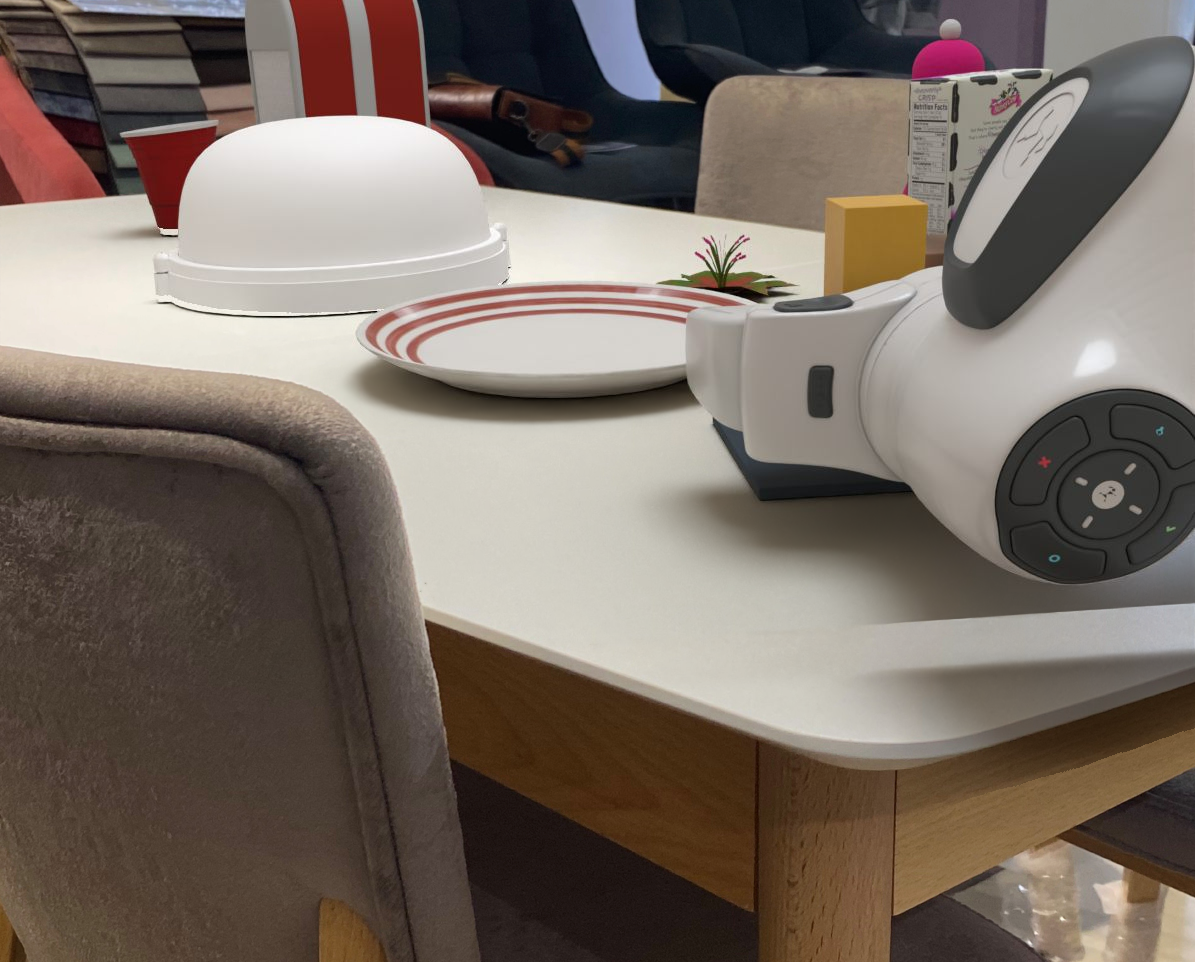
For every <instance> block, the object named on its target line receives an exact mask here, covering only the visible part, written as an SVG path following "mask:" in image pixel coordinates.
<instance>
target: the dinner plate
mask: <svg viewBox="0 0 1195 962" xmlns="http://www.w3.org/2000/svg"><path fill="white" fill-rule="evenodd" d="M725 293H726V292H724V293H720V292H718V291H717V292H715V291H710V290H704V289H697V288H690V287H681V286H672V285H662V284H656V283H651V282H650V283H647V282H635V281H613V280H612V281H609V280H552V281H550V280H549V281H531V282H518V283H515V282H514V283H503V284H501V285H494V286H485V287H478V288H471V289H464V290H458V291H452V292H447V293H441V294H436V295H431V296H427V297H422V298H419V299H415V300H411V301H407V302H404V303H401V304H398V305H395V306H392V307H389V308H386V309H384V310H381V311H377V312H374V313H373V314H371V315H369V316H368V317H366V318H365V319H364V320H363V321H362V322H361V323H359V325H358V326H357V328H356V330H355V336H356V340H357V341H358V343H359V344H360V345H361V346H362V347H363V348H364V349H366V350H367V351H369V352H370V353H371V354H373V355H375V356H377V357H378V358H380V359H382V360H384V361H386V362H387V363H390V364H392V365H394V366H396V367H399V368H401V369H403V370H405V371H409V372H412V373H414V374H418V375H420V376H423V377H426V378H431V379H434V380H438V381H440V382H441V383H444V384H447V385H449V386H452V387H455V388H458V389H460V390H466V391H471V392H476V393H481V394H487V395H496V396H497V395H498V396H504V397H514V398H540V399H542V398H543V399H567V398H568V399H569V398H590V397H603V396H613V395H623V394H631V393H636V392H642V391H648V390H653V389H657V388H662V387H665V386H670V385H672V384H676V383H678V382H681V381H684V380H687V372H686V351H685V339H686V319H687V315H688V313H689V312H690V311H692V310H694V309H697V308H701V307H722V306H743V305H761V304H760V303H759V302H758V303H757V302H755V301H752V300H750V299H747V298H744V297H741V296H736V295H733V294H730V293H728V294H725Z"/></svg>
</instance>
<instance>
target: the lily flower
mask: <svg viewBox="0 0 1195 962" xmlns="http://www.w3.org/2000/svg"><path fill="white" fill-rule="evenodd" d="M709 237H710V239H711V240H709V239H707V238H706V237H705V236H702V237H701V239H702V240H703V242H704V243H706V244H708V245H709V248H710V251H709V250H708V248H705V252H706V253H707V255H708V256H709V257H710V259H711V261H712V265H713V266H712V265H711V264H710V262H709V260H707V259H706V257H705V256H704V255H703V254H701V253H700V252H698V251H694V255H695V256H696V257H698V258H699V259H700V260H702V261H703V262H704V263H705V265H706V267H707V268H708V269H709V270H703V271H700V272H696V273H692V274H690V275H688V274H683V273H681V274H680V279H668V280H662V281H657V282H656V283H655V284H662V285H672V286H681V287H690V288H697V289H704V290H710V291H715V292H720V293H725V294H734V293H739V292H743V291H744V292H745V291H754V292H756V293H758V294H763V295H766V296H768V297H769V296H770V295H769V293H768V289H775V288H786V287H801V285H798V284H795V283H790V282H787V281H784V280H778V279H777V277H776V276H774V275H772V274H768V275H767V274H762V273H760V272H756V271H743V272H742V271H741V272H730V271H731V269H732V268H733V266H734V265H735V263H737V261H740V260H744V259H745V258H747V254H742V251H740V252H738V253H737V254H736V255H735V256H734V257H733V258H732V259H731V260H730V261H729V258H730V257H731V256H732V255H733V253H734V252H735V251H736V250H737V249H738V248H739V247H740V246H741V245H742V244H743V243H746V242H748V241H750V240H751V238H750V237H746V238H745V234H742V235H740V236H739V237H738V238H737V240H735V242H734V243H733V245H732V246H731V247H730V248H729V250H728V251H727V252H726V251H725V250H723V251H722V246H721V245H719V247H720V248H719V249H720V251H722V252H723V255H722V256H723V258H720V256H719V252H718V251H719V249H718V246H717V243H716V241H715V238H714V237H713V235H710V236H709ZM724 237H725V238H724V240H727V235H725V236H724ZM743 238H744V239H743ZM742 239H743V240H742ZM741 240H742V241H741ZM740 241H741V242H740ZM712 242H713V243H714V245H713V243H712ZM718 242H719V243H718V244H721V241H720V239H719V240H718ZM725 244H726V242H724V244H723V247H725V246H726V245H725ZM711 254H712V255H711ZM737 258H738V259H737ZM728 261H729V263H728ZM713 267H714V269H713ZM684 279H685V280H684ZM764 279H765V280H764ZM766 279H768V280H766ZM769 279H777V280H769ZM760 280H764V281H760Z"/></svg>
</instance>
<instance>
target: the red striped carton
mask: <svg viewBox="0 0 1195 962" xmlns="http://www.w3.org/2000/svg"><path fill="white" fill-rule="evenodd" d="M244 29H245V30H244V31H245V42H246V51H247V52H246V53H247V58H248V59H247V60H248V66H249V68H248V69H249V77H250V84H251V93H252V101H253V108H254V109H253V110H254V118H255V125H259V124H263V123H267V122H274V121H280V120H287V119H296V118H308V117H323V116H374V117H386V118H394V119H400V120H405V121H409V122H413V123H416V124H420V125H423V126H425V127H428V128H430V129H432V126H431V125H432V124H431V113H430V99H429V85H428V75H427V72H428V71H427V60H426V47H425V35H424V27H423V19H422V15H421V10H420V6H419V3H418V0H245V7H244Z"/></svg>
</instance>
